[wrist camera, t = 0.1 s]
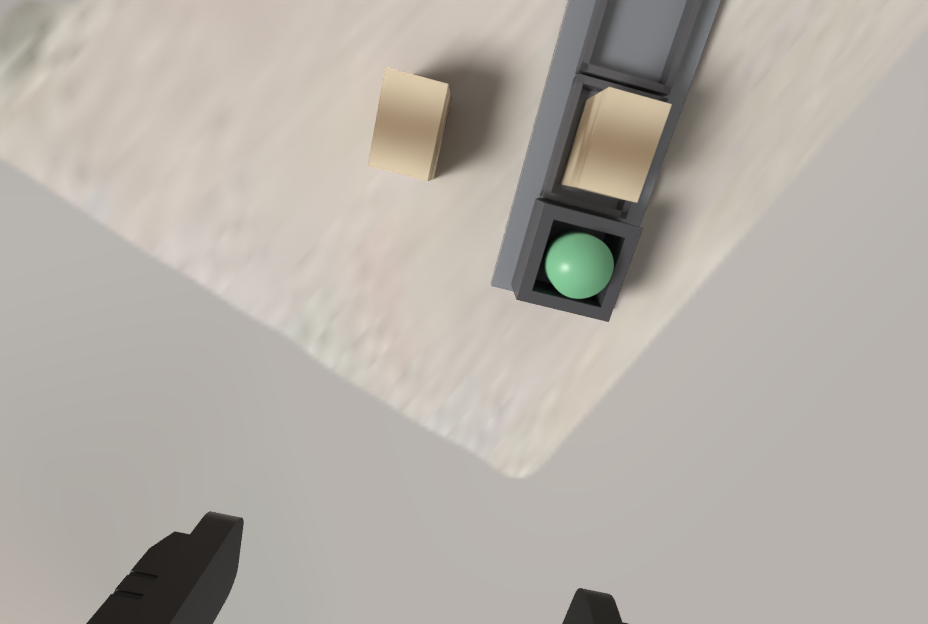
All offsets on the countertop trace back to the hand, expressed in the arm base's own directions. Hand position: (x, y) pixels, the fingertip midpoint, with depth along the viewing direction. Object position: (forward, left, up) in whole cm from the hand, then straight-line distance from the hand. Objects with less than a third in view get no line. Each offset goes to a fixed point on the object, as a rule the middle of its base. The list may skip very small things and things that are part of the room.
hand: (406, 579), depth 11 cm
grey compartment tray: (-13, +8, -29) cm, 33 cm away
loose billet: (-11, -5, -29) cm, 31 cm away
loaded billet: (-13, +8, -28) cm, 32 cm away
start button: (-5, +8, -26) cm, 27 cm away
